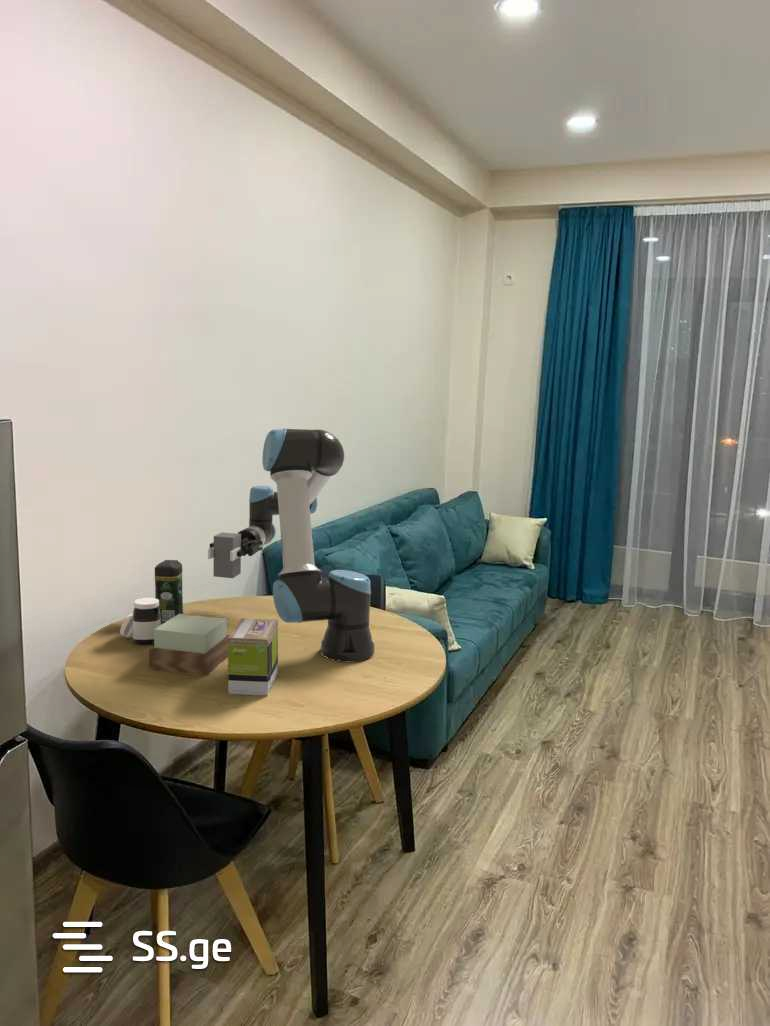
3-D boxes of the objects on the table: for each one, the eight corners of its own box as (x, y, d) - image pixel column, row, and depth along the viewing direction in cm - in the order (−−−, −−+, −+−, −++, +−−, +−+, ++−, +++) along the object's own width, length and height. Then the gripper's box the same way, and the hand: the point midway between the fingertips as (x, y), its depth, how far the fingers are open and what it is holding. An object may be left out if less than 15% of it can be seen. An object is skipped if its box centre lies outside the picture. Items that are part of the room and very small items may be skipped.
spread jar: (160, 645, 214) (159, 605, 212) (117, 647, 211) (117, 607, 209) (161, 631, 225) (161, 593, 223) (121, 633, 222) (121, 594, 220)
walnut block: (230, 655, 209) (230, 635, 208) (207, 677, 194) (207, 655, 193) (176, 650, 212) (176, 629, 211) (149, 670, 196) (148, 648, 195)
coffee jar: (160, 614, 241) (159, 557, 238) (185, 615, 241) (185, 558, 238) (152, 624, 231) (151, 565, 228) (178, 624, 232) (177, 565, 229)
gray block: (240, 573, 226) (241, 533, 224) (232, 578, 220) (233, 537, 218) (221, 571, 227) (221, 532, 225) (213, 576, 221) (213, 536, 219)
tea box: (240, 671, 198) (241, 616, 195) (278, 673, 197) (279, 618, 195) (226, 694, 183) (227, 636, 180) (268, 696, 183) (269, 638, 180)
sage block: (226, 636, 207) (226, 618, 206) (204, 653, 194) (204, 635, 193) (179, 631, 210) (178, 613, 209) (154, 647, 196) (154, 629, 195)
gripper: (278, 553, 238) (251, 571, 216) (221, 548, 242) (189, 565, 219) (278, 530, 237) (251, 545, 215) (221, 525, 240) (189, 539, 218)
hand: (220, 555), depth 217 cm, fingers closed on gray block, 6 cm apart
